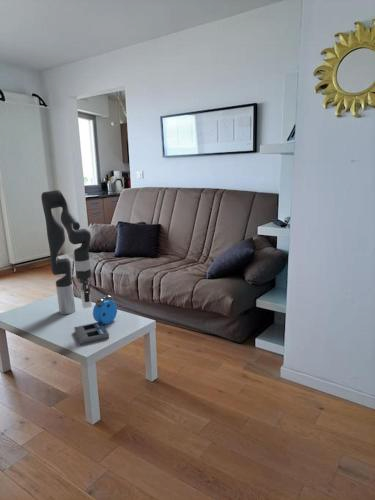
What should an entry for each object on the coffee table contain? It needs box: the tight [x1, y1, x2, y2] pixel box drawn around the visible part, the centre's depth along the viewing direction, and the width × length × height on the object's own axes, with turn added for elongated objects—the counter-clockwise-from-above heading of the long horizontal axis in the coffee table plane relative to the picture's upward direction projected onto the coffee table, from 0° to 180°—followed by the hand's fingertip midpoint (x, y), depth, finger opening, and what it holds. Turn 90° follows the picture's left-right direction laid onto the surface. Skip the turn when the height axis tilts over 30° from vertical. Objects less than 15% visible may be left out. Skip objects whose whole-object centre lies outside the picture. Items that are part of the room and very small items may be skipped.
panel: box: [74, 321, 110, 346], centre depth 178 cm, size 17×14×3 cm
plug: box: [80, 290, 93, 309], centre depth 178 cm, size 4×4×9 cm
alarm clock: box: [92, 295, 118, 325], centre depth 192 cm, size 13×6×15 cm, turn 147°
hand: (86, 300), depth 178 cm, fingers closed on plug, 4 cm apart
